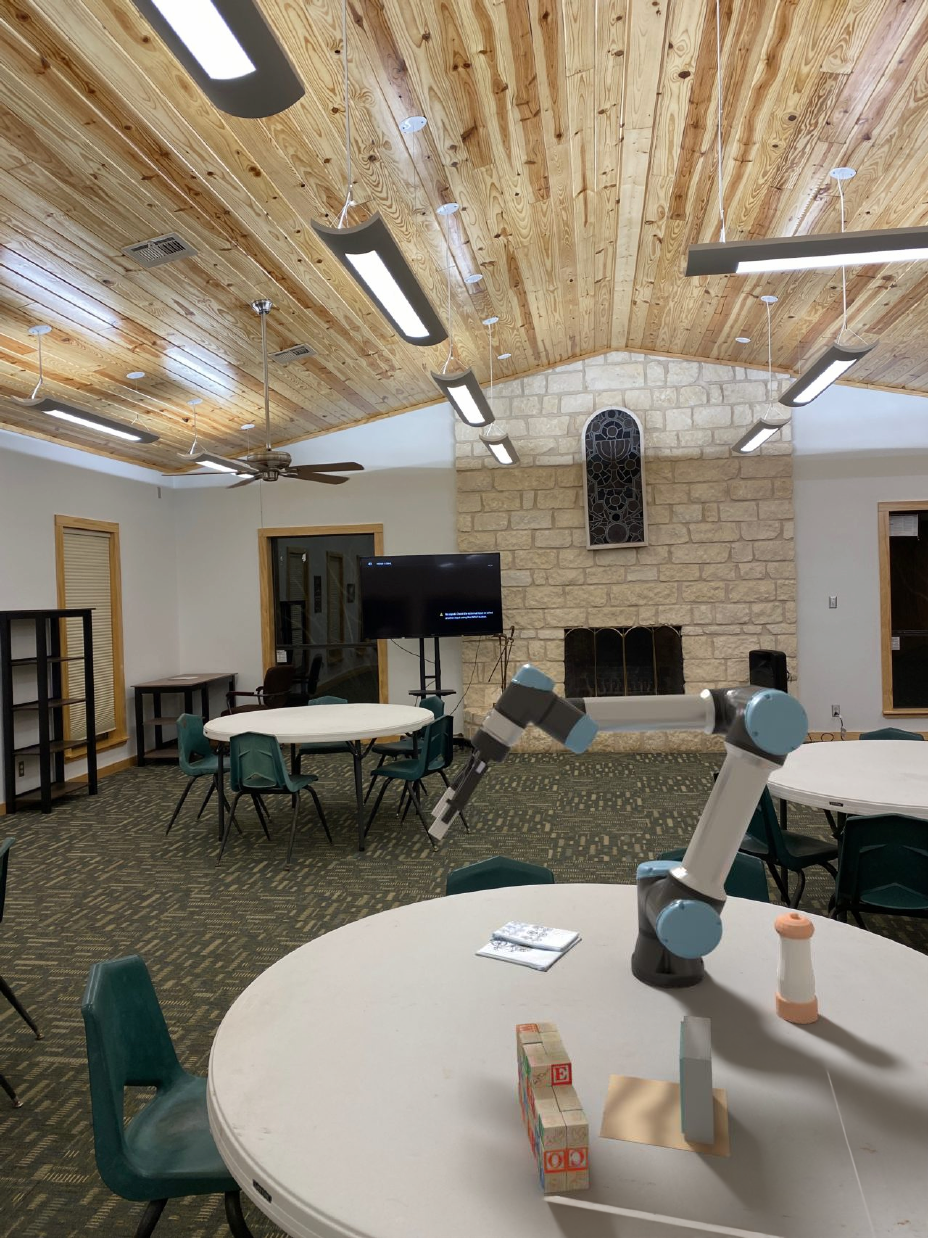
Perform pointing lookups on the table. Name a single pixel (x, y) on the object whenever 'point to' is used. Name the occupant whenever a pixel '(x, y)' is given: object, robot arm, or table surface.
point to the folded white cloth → (543, 939)
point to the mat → (658, 1115)
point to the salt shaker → (795, 970)
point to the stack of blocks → (551, 1109)
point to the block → (696, 1080)
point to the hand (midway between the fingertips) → (435, 826)
